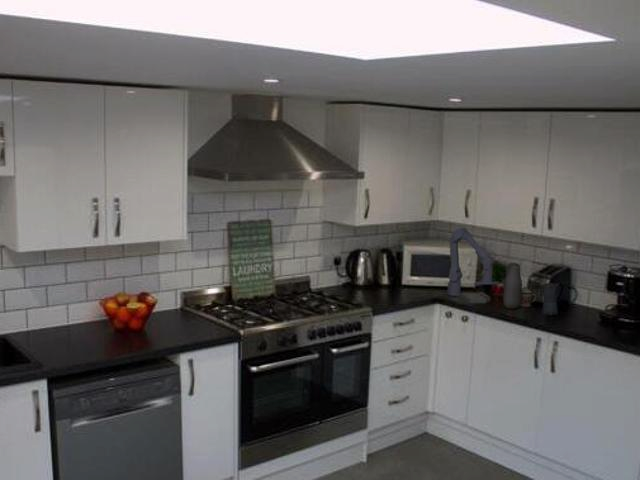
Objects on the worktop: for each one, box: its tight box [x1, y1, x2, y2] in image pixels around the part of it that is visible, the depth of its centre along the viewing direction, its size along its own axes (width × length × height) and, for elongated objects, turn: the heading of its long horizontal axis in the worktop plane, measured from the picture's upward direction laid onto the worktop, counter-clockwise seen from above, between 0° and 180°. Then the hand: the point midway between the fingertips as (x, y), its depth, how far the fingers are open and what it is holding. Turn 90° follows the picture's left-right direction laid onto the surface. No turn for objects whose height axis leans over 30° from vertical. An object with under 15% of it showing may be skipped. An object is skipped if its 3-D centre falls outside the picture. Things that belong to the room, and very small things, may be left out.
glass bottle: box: [502, 262, 523, 310], centre depth 402 cm, size 10×10×28 cm
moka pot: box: [540, 280, 565, 316], centre depth 393 cm, size 10×15×20 cm, turn 111°
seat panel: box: [460, 292, 487, 304], centre depth 425 cm, size 18×10×2 cm, turn 7°
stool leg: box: [476, 290, 491, 303], centre depth 428 cm, size 16×3×3 cm, turn 9°
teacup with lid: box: [519, 286, 537, 308], centre depth 413 cm, size 12×9×12 cm
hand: (486, 296), depth 427 cm, fingers closed
